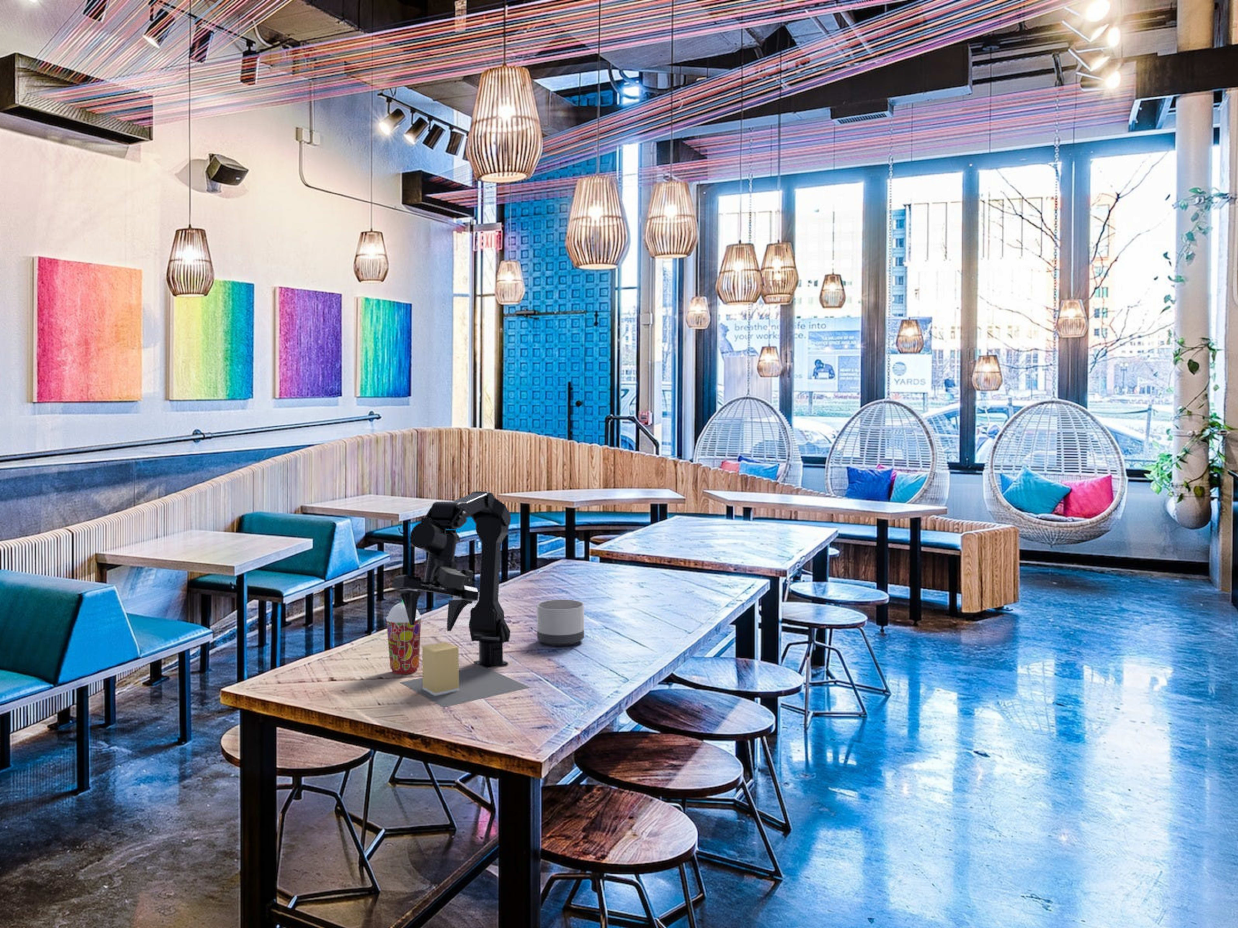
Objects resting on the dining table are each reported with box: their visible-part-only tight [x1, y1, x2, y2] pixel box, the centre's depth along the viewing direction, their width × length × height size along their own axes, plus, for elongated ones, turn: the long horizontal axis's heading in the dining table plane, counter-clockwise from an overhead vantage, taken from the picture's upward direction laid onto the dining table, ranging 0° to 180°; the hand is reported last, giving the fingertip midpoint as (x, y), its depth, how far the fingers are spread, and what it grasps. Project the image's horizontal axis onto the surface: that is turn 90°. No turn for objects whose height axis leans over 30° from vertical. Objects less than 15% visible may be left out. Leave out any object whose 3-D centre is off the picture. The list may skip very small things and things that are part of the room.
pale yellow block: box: [421, 641, 460, 696], centre depth 211 cm, size 6×6×10 cm
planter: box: [536, 599, 585, 647], centre depth 254 cm, size 13×13×10 cm
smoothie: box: [385, 599, 422, 675], centre depth 226 cm, size 8×8×20 cm
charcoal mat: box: [399, 665, 531, 708], centre depth 215 cm, size 22×22×1 cm
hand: (430, 628), depth 202 cm, fingers open, 9 cm apart
